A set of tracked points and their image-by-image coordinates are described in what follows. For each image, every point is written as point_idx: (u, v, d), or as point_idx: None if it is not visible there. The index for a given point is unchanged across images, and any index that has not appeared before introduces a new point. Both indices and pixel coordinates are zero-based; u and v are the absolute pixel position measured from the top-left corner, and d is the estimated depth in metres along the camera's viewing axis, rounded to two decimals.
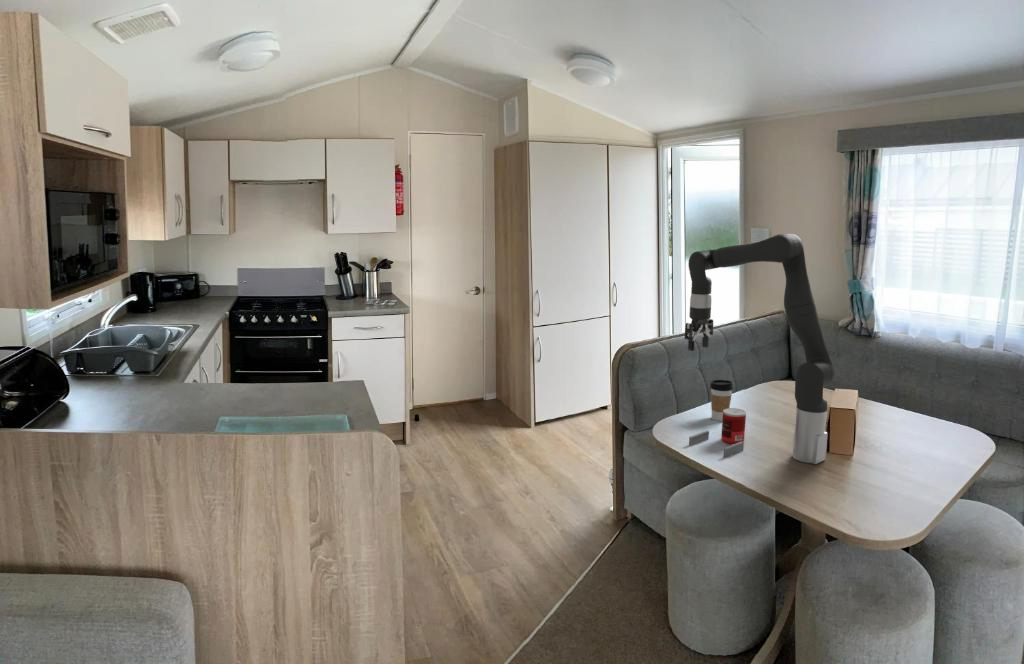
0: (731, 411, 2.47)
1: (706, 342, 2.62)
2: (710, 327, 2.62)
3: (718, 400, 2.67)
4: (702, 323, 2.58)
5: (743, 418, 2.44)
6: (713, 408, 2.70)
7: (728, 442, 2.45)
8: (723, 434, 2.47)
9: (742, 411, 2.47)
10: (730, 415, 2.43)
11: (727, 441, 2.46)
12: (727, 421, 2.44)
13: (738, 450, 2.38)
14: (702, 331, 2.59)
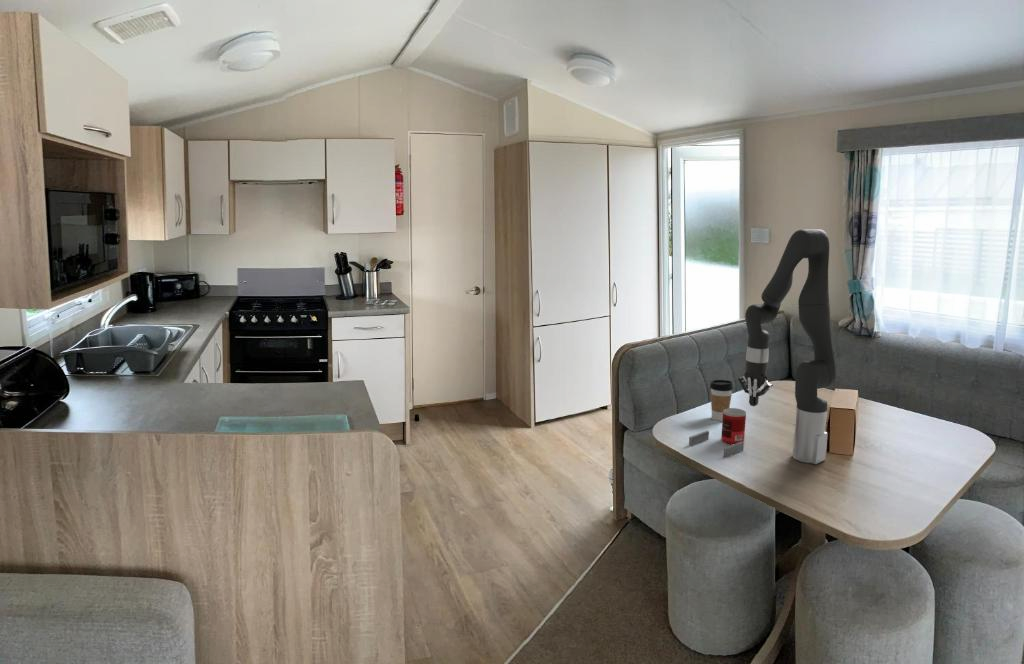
0: (731, 411, 2.47)
1: None
2: (747, 383, 2.56)
3: (718, 400, 2.67)
4: None
5: (743, 418, 2.44)
6: (713, 408, 2.70)
7: (728, 442, 2.45)
8: (723, 434, 2.47)
9: (742, 411, 2.47)
10: (730, 415, 2.43)
11: (727, 441, 2.46)
12: (727, 421, 2.44)
13: (738, 450, 2.38)
14: None
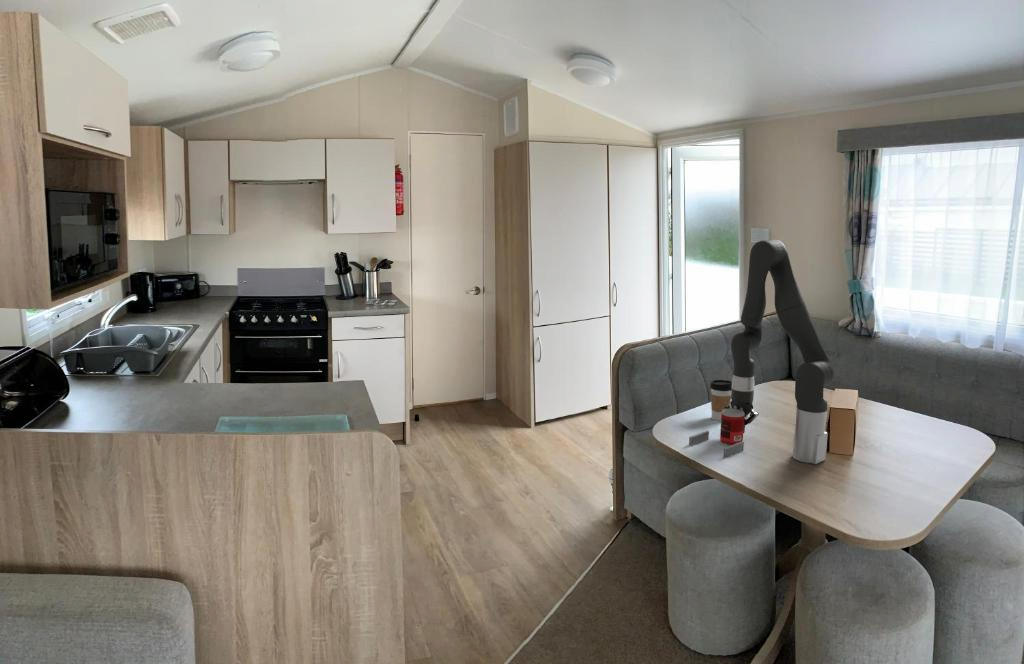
0: (730, 411, 2.47)
1: None
2: None
3: (718, 400, 2.67)
4: None
5: (742, 419, 2.43)
6: (713, 408, 2.70)
7: (727, 442, 2.45)
8: (722, 434, 2.46)
9: (741, 411, 2.46)
10: (729, 415, 2.43)
11: (726, 441, 2.45)
12: (726, 422, 2.44)
13: (738, 450, 2.38)
14: None
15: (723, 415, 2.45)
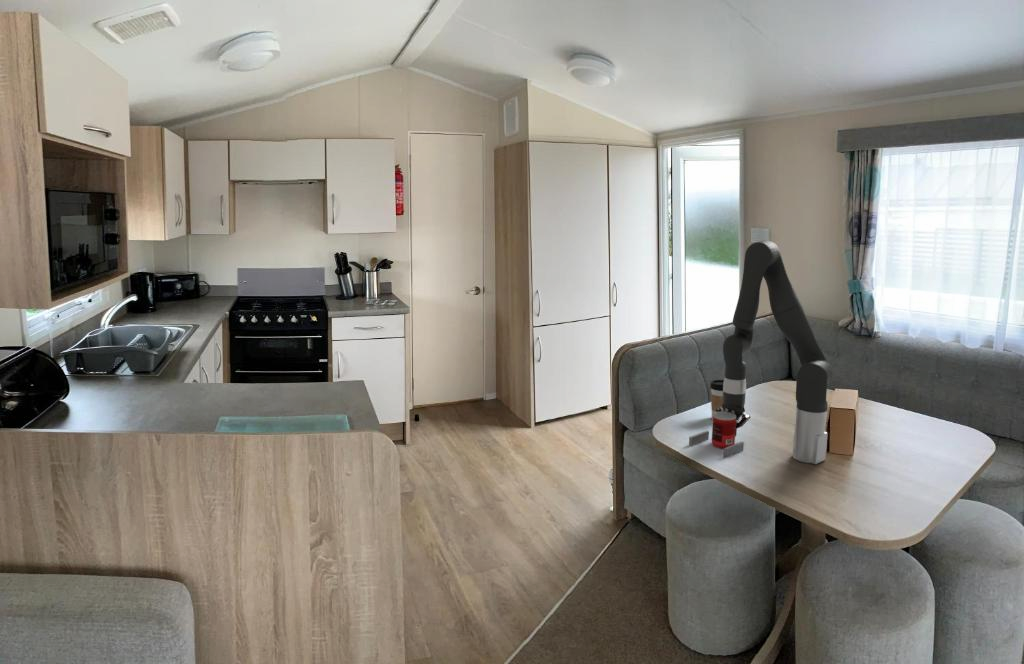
0: (721, 414, 2.44)
1: None
2: None
3: (718, 400, 2.67)
4: None
5: (733, 422, 2.40)
6: (713, 408, 2.70)
7: (719, 446, 2.42)
8: (713, 438, 2.43)
9: (732, 414, 2.43)
10: (720, 419, 2.40)
11: (718, 445, 2.42)
12: (717, 425, 2.41)
13: (738, 450, 2.38)
14: None
15: (715, 418, 2.41)
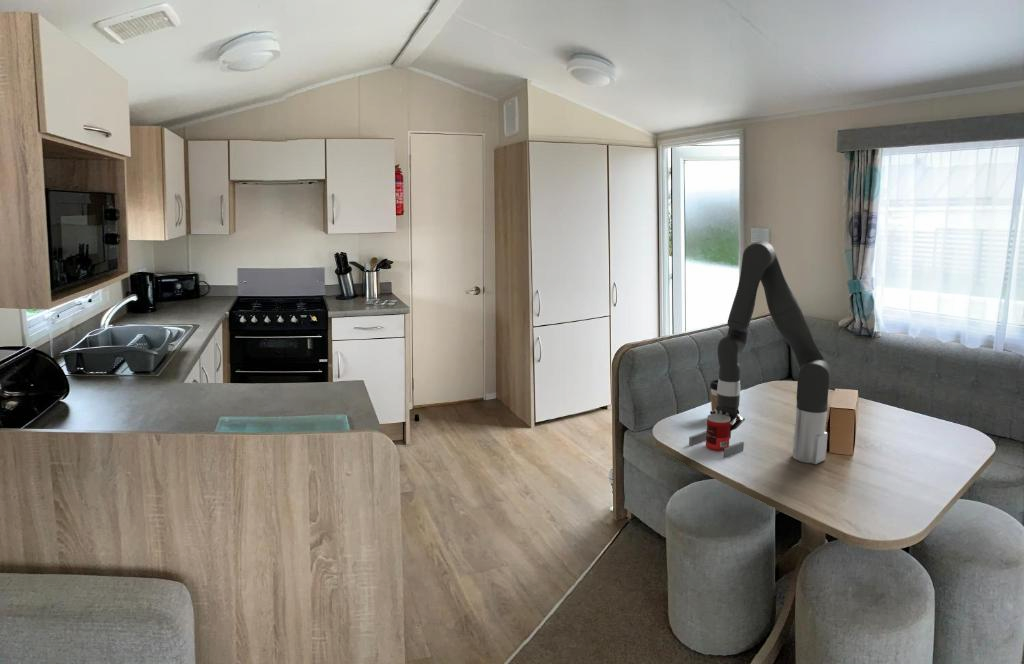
0: (715, 417, 2.41)
1: None
2: None
3: None
4: None
5: (728, 424, 2.38)
6: (713, 408, 2.70)
7: (713, 449, 2.39)
8: (708, 440, 2.41)
9: (727, 417, 2.41)
10: (715, 421, 2.37)
11: (712, 448, 2.40)
12: (712, 427, 2.38)
13: (738, 450, 2.38)
14: None
15: (709, 421, 2.39)
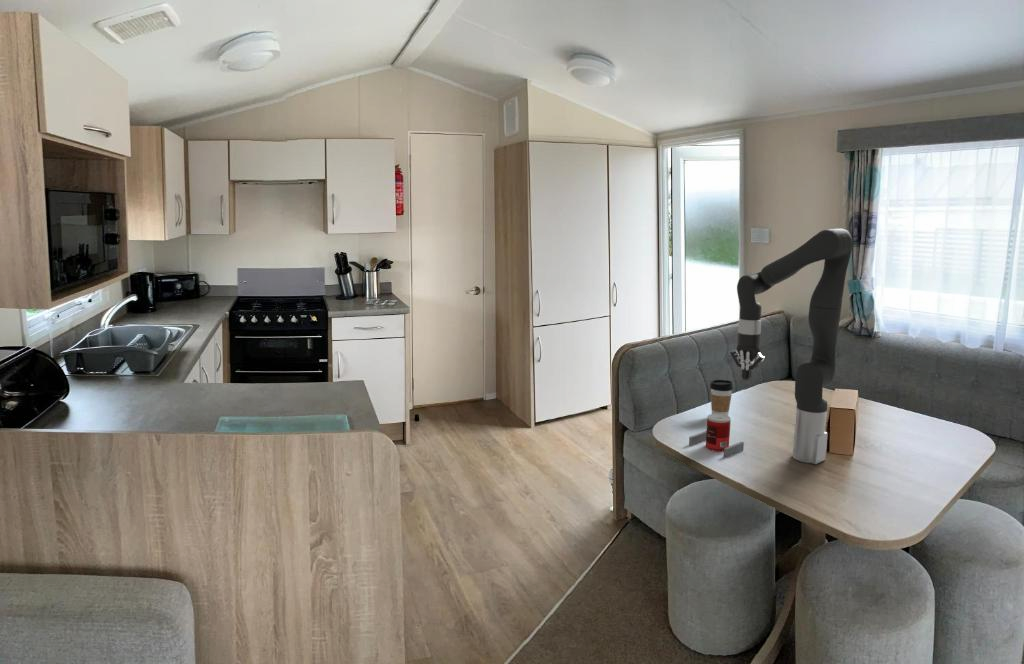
0: (715, 417, 2.41)
1: None
2: (739, 357, 2.50)
3: (717, 400, 2.67)
4: None
5: (728, 424, 2.38)
6: (713, 408, 2.70)
7: (713, 449, 2.39)
8: (708, 441, 2.41)
9: (726, 417, 2.41)
10: (715, 421, 2.37)
11: (712, 448, 2.40)
12: (712, 427, 2.38)
13: (738, 450, 2.38)
14: None
15: (709, 421, 2.39)
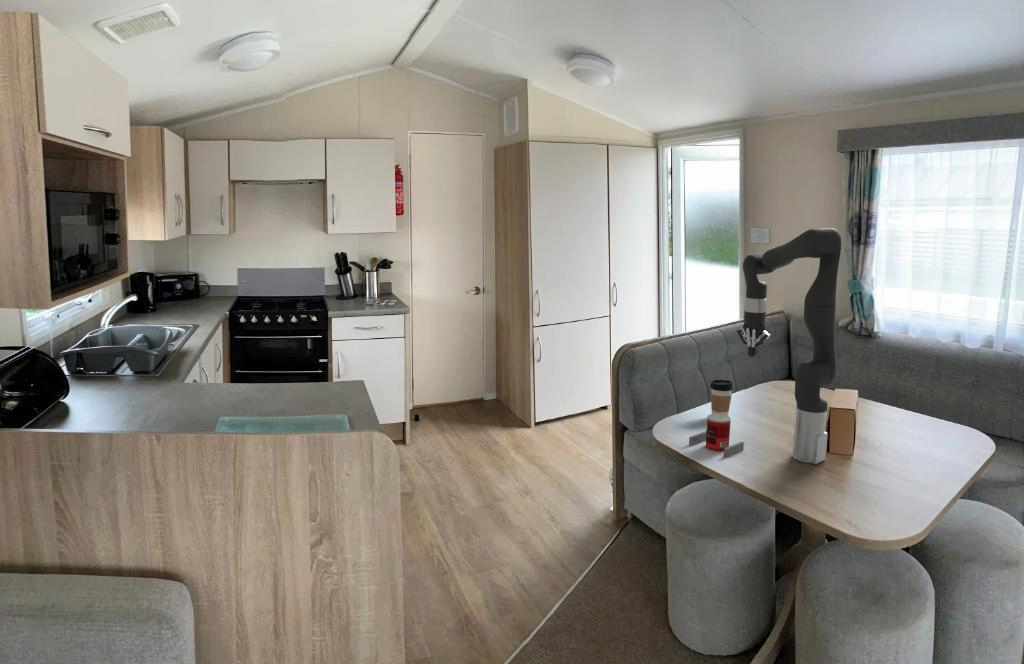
0: (715, 417, 2.41)
1: None
2: (745, 335, 2.59)
3: (718, 400, 2.67)
4: None
5: (728, 424, 2.38)
6: (713, 408, 2.70)
7: (713, 449, 2.39)
8: (708, 441, 2.41)
9: (726, 417, 2.41)
10: (715, 421, 2.37)
11: (712, 448, 2.40)
12: (712, 427, 2.38)
13: (738, 450, 2.38)
14: None
15: (709, 421, 2.39)
